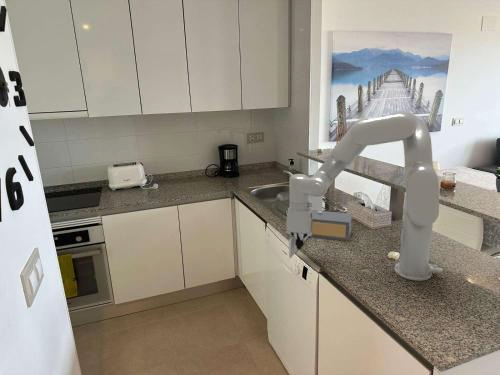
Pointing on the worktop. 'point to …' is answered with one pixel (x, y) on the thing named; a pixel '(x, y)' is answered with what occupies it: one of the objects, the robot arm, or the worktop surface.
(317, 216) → the cabinet with open door
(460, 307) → the worktop surface
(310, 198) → the milk carton
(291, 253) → the side door
